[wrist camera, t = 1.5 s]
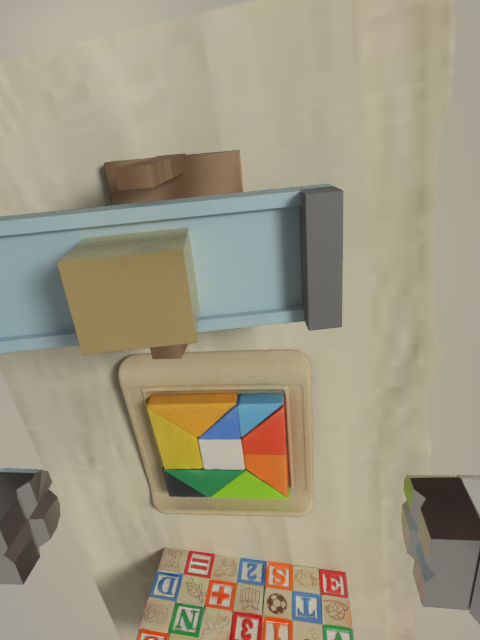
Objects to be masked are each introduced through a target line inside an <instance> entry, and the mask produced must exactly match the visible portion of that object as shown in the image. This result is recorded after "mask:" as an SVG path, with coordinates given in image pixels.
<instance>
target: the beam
mask: <svg viewBox="0 0 480 640" xmlns="http://www.w3.org/2000/svg"><path fill="white" fill-rule="evenodd" d="M188 227H189V234H190V241H191V248H192V255H193V263H194V270H195V277H196V284H197V291H198V299H199V306H200V307H199V322H198V332H206V331H215V330H225V329H234V328H244V327H253V326H263V325H272V324H281V323H291V322H300V321H305V323H306V325H307V327H308V329H309V330H319V329H328V328H338V327H342V258H343V190H340V189H338V188H336V187H334V186H332V185H330V184H320V185H310V186H300V187H290V188H280V189H270V190H260V191H251V192H241V193H231V194H221V195H211V196H201V197H191V198H181V199H171V200H161V201H151V202H141V203H131V204H121V205H111V206H101V207H91V208H81V209H71V210H61V211H51V212H41V213H32V214H22V215H12V216H2V217H0V353H8V352H17V351H27V350H36V349H46V348H55V347H64V346H74V345H80V344H79V341H78V337H77V333H76V330H75V326H74V322H73V319H72V315H71V311H70V308H69V304H68V301H67V297H66V293H65V290H64V286H63V282H62V279H61V275H60V271H59V268H58V264H57V262H58V261H59V260H60V259H62V258H63V257H64V256H65V255H66V254H67V253H69V252H70V251H71V250H72V249H73V248H74V247H76V246H77V245H78V244H79V243H80V242H81V241H82V240H84V239H85V238H89V237H99V236H109V235H119V234H129V233H138V232H148V231H158V230H168V229H178V228H188Z"/></svg>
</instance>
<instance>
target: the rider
mask: <svg viewBox="0 0 480 640" xmlns="http://www.w3.org/2000/svg"><path fill="white" fill-rule="evenodd" d="M57 264H58V268H59V271H60V275H61V279H62V282H63V286H64V290H65V293H66V297H67V301H68V304H69V308H70V311H71V315H72V319H73V322H74V326H75V330H76V333H77V337H78V341H79V344H80V348H81V352H82V355H85V354H94V353H104V352H113V351H122V350H132V349H141V348H151V347H160V346H169V345H179V344H188V343H197V336H198V322H199V307H200V306H199V299H198V291H197V284H196V277H195V270H194V263H193V255H192V248H191V241H190V234H189V227H188V228H178V229H168V230H158V231H148V232H138V233H129V234H119V235H109V236H99V237H89V238H85V239H84V240H82V241H81V242H80V243H79V244H78V245H77V246H76V247H74V248H73V249H72V250H71V251H70V252H69V253H67V254H66V255H65V256H64V257H63V258H62V259H60V260H59V261H58V262H57Z"/></svg>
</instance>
